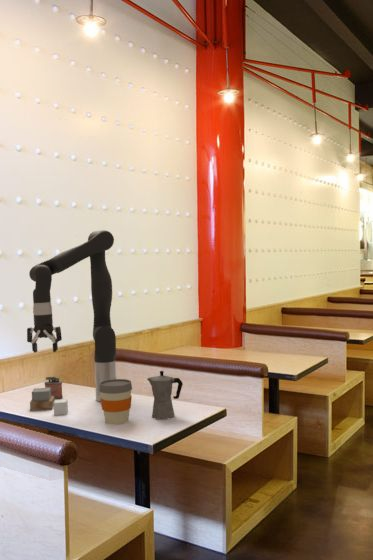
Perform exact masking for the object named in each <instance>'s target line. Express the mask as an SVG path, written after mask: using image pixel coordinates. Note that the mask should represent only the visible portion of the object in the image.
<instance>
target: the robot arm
mask: <svg viewBox="0 0 373 560" xmlns="http://www.w3.org/2000/svg"><path fill="white" fill-rule="evenodd" d="M114 242H115V238H114V236H113V234H112V233H111V232H110V231H109V230H107V229H106V230H105V229H101V230H94V231H92V232H91V233H90V234H89V236H88V238H87V241H85V242H84V243H82V244H80V245H78V246H77V245H76V246H75V247H72V248H69V249H67V250H64V251H62V252H61V253H59V254H57V255H55V256H53V257H51V258H49V259H48V260H44V261H41V262H40V263H37V264H35V265H34V266H32V268H30V270H29V278H30V280H31V281H33V282H35V285H34V286H35V287H34V289H33V291H32V300H33V301H32V302H33V305H32V306H33V307H32V313H33V327H32V326H30V327H27V329H26V341H27V343H31V349H32V352H33V353H37V352H38V343H37V342H38V341H39V339H42V338H43V339H46V338H48V339H49V340H51V342H52V352H53V353H56V352H57V351H58V350H59V349H58V348H59V347H58V343H59V342H61V341H62V339H63V338H62V329H61V326H55V327H54V322H53V321H54V319H53V307H52V302H51V301H52V298H51V287H52V281H53V277H52V276H54V274H55V275H56V274H61V273H63V272H64V271H65V270H68V269H69V268H71V267H73V266H75V265H76V264H78V263H80V262H82V261H83V260H86V259H88V258H89V262H90V290H91V303H92V309H93V310H92V311H93V329H92V339H93V341H94V357H93V359H94V360H93V361H94V379H95V380H94V381H95V400H96V401H97V402H101V400H100V398H101V393H100V391H99V388H100V383H101V382H103V381H106V380H113V379H117V369H116V366H117V365H116V354H117V342H116V341H117V340H116V339H117V338H116V332H115V331H114V330H115V329H113V328H112V322H111V307H112V302H113V281H112V277H111V273H110V271H109V269H108V266H107V261H106V251H108V250H110V249H111V248H112V247H113V246H114V244H115V243H114ZM53 332H54V333H55V334H56V335H55V334H54V333H53ZM33 333H34V334H35V335H33Z"/></svg>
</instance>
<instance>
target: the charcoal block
mask: <svg viewBox="0 0 373 560" xmlns="http://www.w3.org/2000/svg"><path fill="white" fill-rule="evenodd" d="M50 398H51V388H45V387H36V388H33V389H32V391H31V400H32V402H33V401H49V400H50Z"/></svg>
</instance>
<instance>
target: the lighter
mask: <svg viewBox="0 0 373 560" xmlns="http://www.w3.org/2000/svg"><path fill="white" fill-rule="evenodd" d="M44 388H51V396H54V400H63V398H64V397H63V381H60V376H55V375H53V376H46V377H45V381H44Z"/></svg>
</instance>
